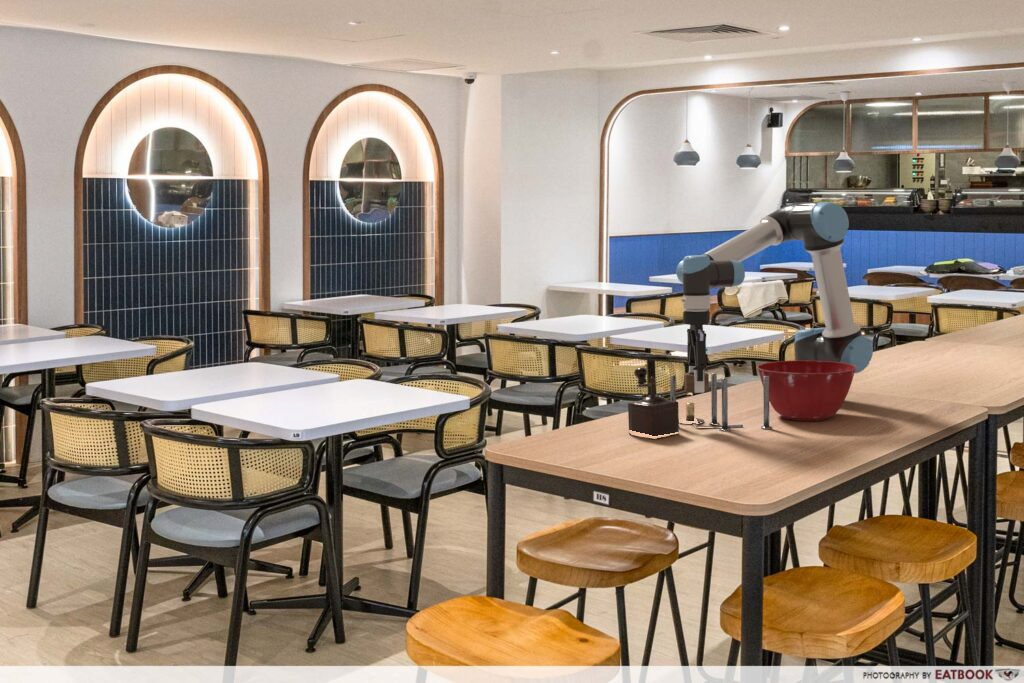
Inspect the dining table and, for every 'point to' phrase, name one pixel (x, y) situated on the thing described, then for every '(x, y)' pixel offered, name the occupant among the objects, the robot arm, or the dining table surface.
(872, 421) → the dining table surface
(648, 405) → the brown coffee grinder
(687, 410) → the brass peg
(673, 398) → the wire course
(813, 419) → the mixing bowl
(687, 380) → the napkin ring
